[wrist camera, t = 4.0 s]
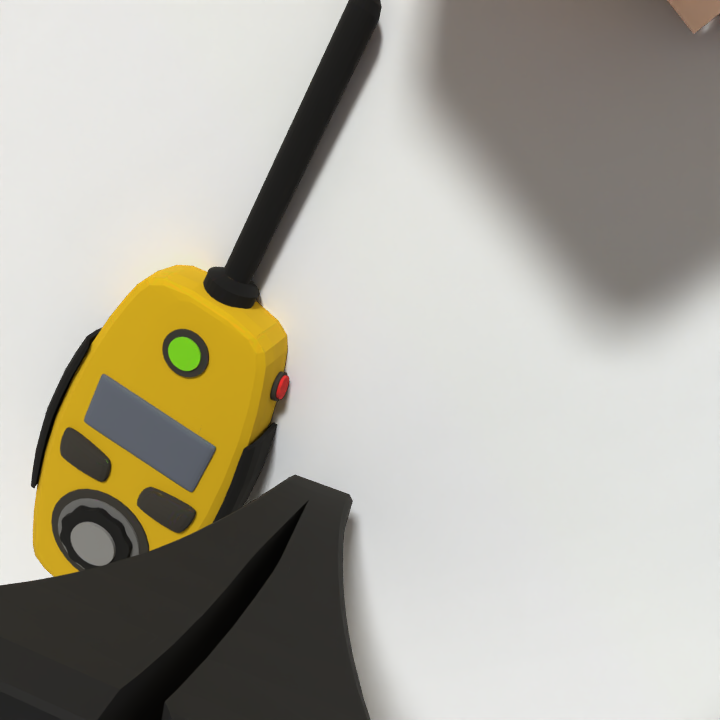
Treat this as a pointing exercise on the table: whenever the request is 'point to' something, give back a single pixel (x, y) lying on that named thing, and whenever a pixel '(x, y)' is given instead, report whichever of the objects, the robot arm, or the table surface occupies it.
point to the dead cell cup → (696, 12)
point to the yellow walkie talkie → (179, 377)
